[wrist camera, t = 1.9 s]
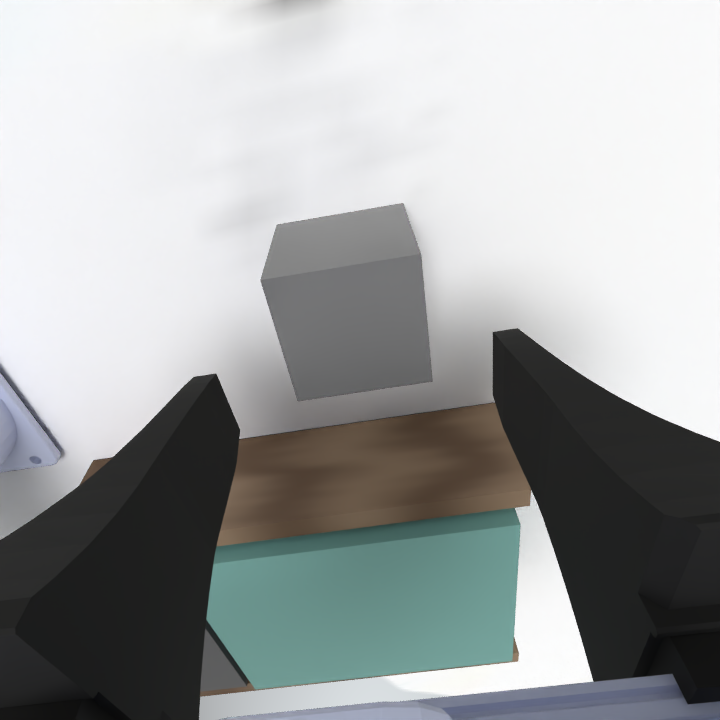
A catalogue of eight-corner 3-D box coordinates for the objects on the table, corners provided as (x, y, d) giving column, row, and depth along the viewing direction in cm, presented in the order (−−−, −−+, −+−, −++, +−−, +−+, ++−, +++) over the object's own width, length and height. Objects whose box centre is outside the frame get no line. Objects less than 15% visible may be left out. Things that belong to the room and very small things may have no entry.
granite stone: (305, 329, 20) (298, 401, 16) (277, 223, 17) (260, 280, 13) (414, 312, 19) (432, 381, 16) (402, 202, 17) (421, 253, 13)
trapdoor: (204, 646, 29) (193, 696, 27) (112, 525, 22) (88, 579, 20) (499, 611, 28) (512, 661, 25) (501, 472, 21) (520, 524, 19)
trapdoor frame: (199, 611, 32) (179, 698, 28) (93, 460, 23) (41, 553, 19) (494, 576, 31) (518, 661, 27) (495, 402, 22) (531, 489, 18)
